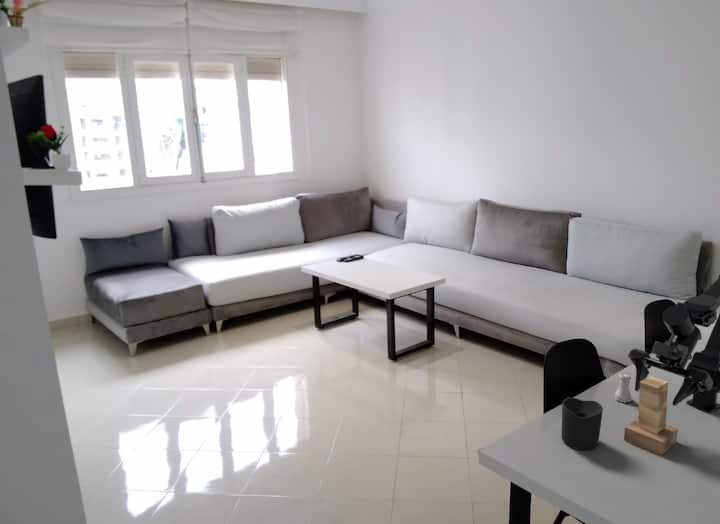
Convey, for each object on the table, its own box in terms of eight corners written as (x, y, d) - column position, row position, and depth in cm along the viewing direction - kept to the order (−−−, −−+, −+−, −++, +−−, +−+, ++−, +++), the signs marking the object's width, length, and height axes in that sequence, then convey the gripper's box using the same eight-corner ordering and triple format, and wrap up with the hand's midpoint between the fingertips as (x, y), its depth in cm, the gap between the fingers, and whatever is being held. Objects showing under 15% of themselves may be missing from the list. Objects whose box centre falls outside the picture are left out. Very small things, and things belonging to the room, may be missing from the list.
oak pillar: (647, 420, 140) (649, 375, 137) (665, 427, 136) (668, 381, 133) (638, 426, 137) (639, 381, 134) (656, 434, 134) (658, 388, 131)
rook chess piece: (633, 403, 156) (635, 378, 154) (616, 402, 156) (618, 377, 154) (628, 396, 160) (631, 371, 158) (612, 395, 161) (614, 370, 159)
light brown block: (639, 428, 144) (641, 415, 143) (676, 442, 137) (678, 428, 136) (623, 441, 138) (625, 427, 137) (660, 457, 132) (662, 442, 131)
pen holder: (580, 456, 132) (583, 419, 130) (551, 437, 140) (554, 402, 138) (608, 445, 136) (611, 409, 134) (578, 427, 144) (581, 393, 142)
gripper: (635, 319, 141) (607, 370, 137) (714, 340, 126) (685, 398, 123) (648, 339, 147) (622, 389, 144) (724, 362, 132) (697, 418, 129)
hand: (654, 397), depth 135 cm, fingers open, 9 cm apart
